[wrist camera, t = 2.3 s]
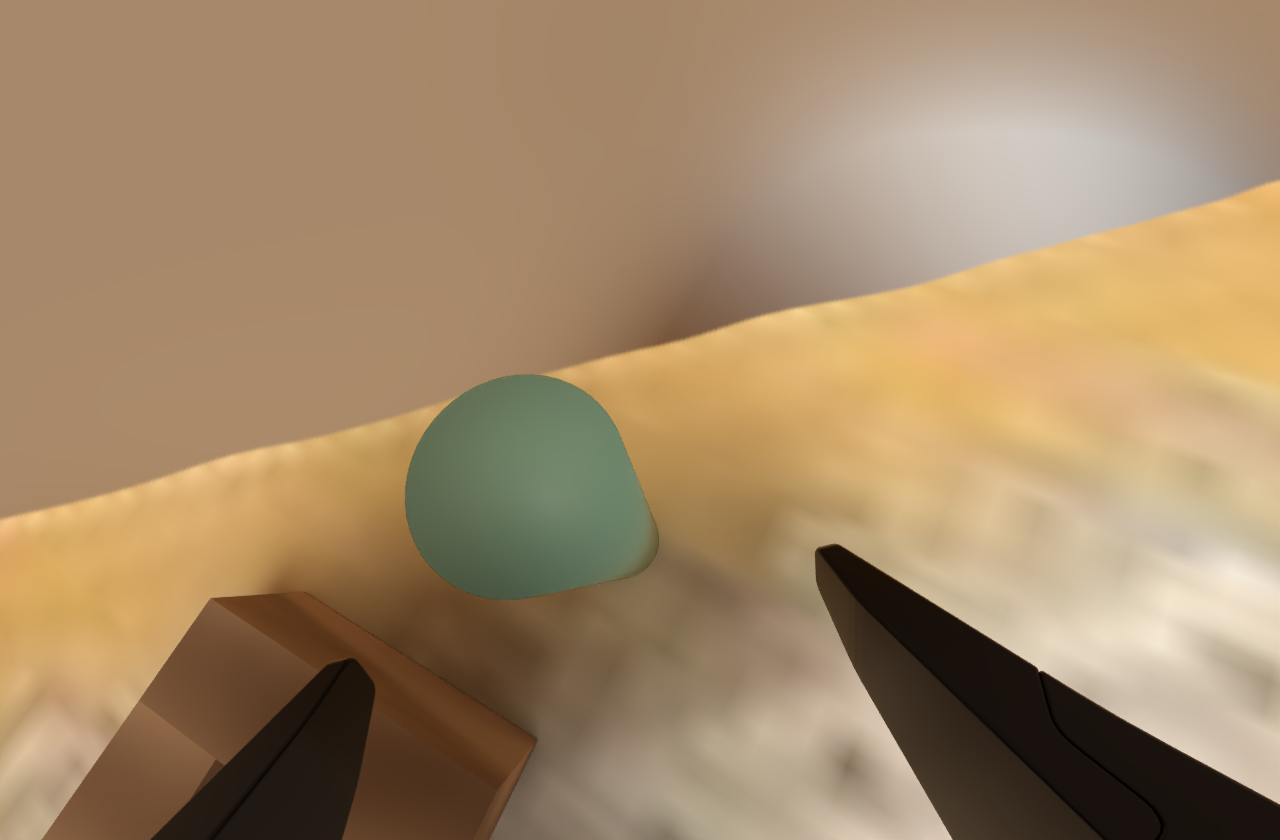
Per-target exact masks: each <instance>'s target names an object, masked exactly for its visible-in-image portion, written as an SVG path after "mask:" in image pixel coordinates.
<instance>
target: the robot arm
mask: <svg viewBox="0 0 1280 840" xmlns="http://www.w3.org/2000/svg"><path fill="white" fill-rule="evenodd" d="M815 568H816V582H817V586H818V588H819V591H820V593H821V596H822V598H823V600H824V602H825V605H826V607H827V609H828V611H829V614H830V616H831V618H832V620H833V622H834V625H835V627H836V629H837V631H838V634H839V636H840V638H841V640H842V643H843V645H844V647H845V649H846V652H847V654H848V656H849V658H850V660H851V662H852V665H853V667H854V669H855V671H856V672H857V674H858V676H859V678H860V680H861V682H862V683H863V685H864V687H865V688H866V690H867V692H868V694H869V695H870V697H871V699H872V701H873V702H874V704H875V706H876V708H877V709H878V711H879V713H880V714H881V716H882V718H883V720H884V721H885V723H886V725H887V727H888V728H889V730H890V732H891V734H892V735H893V737H894V739H895V740H896V742H897V744H898V746H899V747H900V749H901V751H902V753H903V754H904V756H905V758H906V760H907V761H908V763H909V765H910V766H911V768H912V770H913V772H914V773H915V775H916V777H917V779H918V780H919V782H920V784H921V786H922V787H923V789H924V791H925V792H926V794H927V796H928V798H929V799H930V801H931V803H932V805H933V806H934V808H935V810H936V812H937V813H938V815H939V817H940V818H941V820H942V822H943V824H944V825H945V827H946V829H947V831H948V832H949V834H950V836H951V838H952V839H953V840H1280V804H1278V803H1276V802H1274V801H1272V800H1270V799H1269V798H1267V797H1265V796H1263V795H1261V794H1259V793H1257V792H1256V791H1254V790H1252V789H1250V788H1248V787H1246V786H1244V785H1243V784H1241V783H1239V782H1237V781H1235V780H1233V779H1231V778H1230V777H1228V776H1226V775H1224V774H1222V773H1220V772H1218V771H1217V770H1215V769H1213V768H1211V767H1209V766H1207V765H1205V764H1204V763H1202V762H1200V761H1198V760H1196V759H1194V758H1192V757H1191V756H1189V755H1187V754H1185V753H1183V752H1181V751H1179V750H1178V749H1176V748H1174V747H1172V746H1170V745H1168V744H1167V743H1165V742H1163V741H1161V740H1159V739H1158V738H1156V737H1154V736H1152V735H1150V734H1149V733H1147V732H1145V731H1143V730H1141V729H1140V728H1138V727H1136V726H1134V725H1133V724H1131V723H1129V722H1127V721H1125V720H1124V719H1122V718H1120V717H1118V716H1116V715H1115V714H1113V713H1111V712H1110V711H1108V710H1106V709H1105V708H1103V707H1101V706H1100V705H1098V704H1096V703H1095V702H1093V701H1091V700H1090V699H1088V698H1086V697H1085V696H1083V695H1081V694H1080V693H1078V692H1076V691H1075V690H1073V689H1071V688H1070V687H1068V686H1066V685H1065V684H1063V683H1062V682H1060V681H1058V680H1057V679H1055V678H1054V677H1052V676H1050V675H1049V674H1047V673H1046V672H1044V671H1040V672H1039V671H1038V669H1037V667H1035V666H1034V665H1032V664H1031V663H1029V662H1027V661H1026V660H1024V659H1023V658H1021V657H1019V656H1018V655H1016V654H1015V653H1013V652H1011V651H1010V650H1008V649H1007V648H1005V647H1003V646H1002V645H1000V644H999V643H997V642H995V641H994V640H992V639H990V638H989V637H987V636H986V635H984V634H982V633H981V632H979V631H978V630H976V629H974V628H973V627H971V626H970V625H968V624H966V623H965V622H963V621H962V620H960V619H958V618H957V617H955V616H953V615H952V614H950V613H949V612H947V611H945V610H944V609H942V608H941V607H939V606H937V605H936V604H934V603H933V602H931V601H929V600H928V599H926V598H925V597H923V596H921V595H920V594H918V593H916V592H915V591H913V590H912V589H910V588H908V587H907V586H905V585H904V584H902V583H900V582H899V581H897V580H896V579H894V578H892V577H891V576H889V575H888V574H886V573H884V572H883V571H881V570H879V569H878V568H876V567H875V566H873V565H871V564H870V563H868V562H867V561H865V560H863V559H862V558H860V557H859V556H857V555H855V554H854V553H852V552H850V551H849V550H847V549H846V548H844V547H842V546H841V545H838V544H830V545H826V546H822V547H818V548H817V549H816V551H815ZM375 691H376V689H375V684H374V681H373V680H372V678H371V677H370V676H369V674H368V673H367V672H366V671H365V669H364V668H363V667H362V665H361V664H360V663H359V661H358V660H357V659H356V658H353V657H347V658H343V659H339V660H335V661H332V662H330V663H328V664H327V665H326V666H325V667H324V668H323V669H322V670H321V671H320V672H319V673H318V674H316V675H315V676H314V677H313V678H312V679H311V680H310V681H309V682H308V683H307V684H306V685H305V686H304V687H303V688H302V689H301V690H300V691H299V692H298V693H297V694H296V695H295V696H294V697H293V698H292V699H291V700H290V701H289V702H288V703H287V704H286V705H285V706H284V707H283V708H282V709H281V710H280V711H279V712H278V713H277V714H276V715H275V716H274V717H273V718H272V719H271V720H270V721H269V722H268V723H267V724H266V725H265V726H264V727H263V728H262V729H261V730H260V731H259V732H258V733H257V734H256V735H255V736H254V737H253V738H252V739H251V740H250V741H249V742H248V743H247V744H246V745H245V746H244V747H243V748H242V749H241V750H240V751H239V752H238V753H237V754H236V755H235V756H234V757H233V758H232V759H231V760H230V761H229V762H228V763H227V764H226V765H225V766H224V767H223V768H222V769H221V770H220V771H219V772H218V773H217V774H216V775H215V776H214V777H213V778H212V779H211V780H210V781H208V782H207V783H206V784H205V785H204V786H203V787H202V788H201V789H200V790H199V791H198V792H197V793H196V794H195V795H194V796H193V797H192V798H191V799H190V800H189V801H188V802H187V803H186V804H185V805H184V806H183V807H182V808H181V809H180V810H179V811H178V812H177V813H176V814H175V815H174V816H173V817H172V818H171V819H170V820H169V821H168V822H167V823H166V824H165V825H164V826H163V827H162V828H161V829H160V830H159V831H158V832H157V833H156V834H155V835H154V836H153V837H152V838H151V839H150V840H342V839H343V835H344V832H345V828H346V825H347V821H348V818H349V814H350V811H351V807H352V804H353V800H354V796H355V793H356V789H357V785H358V781H359V776H360V772H361V767H362V762H363V757H364V751H365V746H366V741H367V736H368V731H369V726H370V720H371V715H372V710H373V705H374V700H375Z"/></svg>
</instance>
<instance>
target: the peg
mask: <svg viewBox="0 0 1280 840" xmlns="http://www.w3.org/2000/svg"><path fill="white" fill-rule="evenodd" d="M405 506H406V516H407V521H408V525H409V529H410V532H411V535H412V537H413V540H414V542H415V544H416V546H417V548H418V550H419V551H420V553H421V555H422V557H423V558H424V559H425V561H426V562H427V563H428V564H429V566H430V567H431V568H432V569H433V570H434V571H435V572H436V573H437V574H438V575H439V576H440V577H441V578H443V579H444V580H446V581H447V582H448V583H450V584H451V585H453V586H454V587H456V588H458V589H460V590H462V591H465V592H467V593H469V594H472V595H476V596H479V597H482V598H488V599H495V600H517V599H525V598H531V597H536V596H541V595H546V594H551V593H556V592H560V591H565V590H570V589H575V588H580V587H585V586H590V585H595V584H600V583H604V582H609V581H614V580H619V579H624V578H629V577H632V576H635V575H637V574H639V573H640V572H642V571H643V570H645V569H646V568H647V567H648V566H649V565H650V563H651V562H652V560H653V559H654V557H655V555H656V552H657V548H658V542H659V535H658V529H657V526H656V523H655V521H654V518H653V516H652V513H651V511H650V508H649V506H648V503H647V501H646V498H645V496H644V493H643V491H642V489H641V486H640V484H639V481H638V479H637V476H636V474H635V471H634V469H633V466H632V464H631V461H630V459H629V456H628V454H627V451H626V449H625V446H624V444H623V441H622V439H621V436H620V434H619V432H618V429H617V428H616V426H615V424H614V422H613V421H612V419H611V417H610V416H609V415H608V414H607V412H606V411H605V410H604V408H603V407H602V406H601V405H600V404H599V403H598V402H597V401H596V400H595V399H594V398H592V397H591V396H590V395H588V394H587V393H586V392H584V391H583V390H581V389H579V388H578V387H576V386H574V385H572V384H570V383H567V382H565V381H562V380H559V379H556V378H552V377H548V376H541V375H513V376H507V377H502V378H498V379H494V380H491V381H488V382H486V383H483V384H481V385H479V386H476V387H474V388H473V389H471V390H469V391H467V392H465V393H464V394H462V395H461V396H459V397H458V398H457V399H455V400H454V401H453V402H451V403H450V404H449V405H448V406H447V407H446V408H445V409H443V410H442V411H441V413H440V414H439V415H438V416H437V417H436V418H435V419H434V420H433V421H432V423H431V424H430V426H429V427H428V428H427V430H426V431H425V433H424V434H423V436H422V438H421V440H420V441H419V443H418V445H417V447H416V450H415V452H414V455H413V457H412V460H411V463H410V467H409V470H408V474H407V481H406V487H405Z"/></svg>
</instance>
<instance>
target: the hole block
mask: <svg viewBox="0 0 1280 840" xmlns="http://www.w3.org/2000/svg"><path fill="white" fill-rule="evenodd" d="M347 657H353V658H356V659H357V660H358V661H359V663H360V664H361V665H362V667H363V668H364V669H365V671H366V672H367V673H368V674H369V676H370V677H371V678H372V680H373V681H374V684H375V689H376V691H375V700H374V705H373V710H372V715H371V720H370V726H369V731H368V736H367V741H366V746H365V751H364V757H363V762H362V767H361V772H360V776H359V781H358V785H357V789H356V793H355V796H354V800H353V804H352V807H351V811H350V814H349V818H348V821H347V825H346V828H345V832H344V835H343V839H342V840H489V839H490V837H491V835H492V833H493V831H494V829H495V827H496V825H497V823H498V820H499V818H500V816H501V814H502V812H503V810H504V808H505V806H506V804H507V802H508V800H509V798H510V796H511V794H512V792H513V789H514V787H515V785H516V783H517V781H518V779H519V777H520V775H521V773H522V771H523V769H524V767H525V765H526V763H527V761H528V758H529V756H530V754H531V752H532V750H533V748H534V746H535V744H536V742H537V739H536V738H534V737H533V736H531V735H529V734H528V733H526V732H525V731H523V730H522V729H520V728H518V727H517V726H515V725H514V724H512V723H511V722H509V721H507V720H506V719H504V718H503V717H501V716H499V715H498V714H496V713H495V712H493V711H492V710H490V709H488V708H487V707H485V706H484V705H482V704H480V703H479V702H477V701H476V700H474V699H473V698H471V697H469V696H468V695H466V694H465V693H463V692H462V691H460V690H458V689H457V688H455V687H454V686H452V685H450V684H449V683H447V682H446V681H444V680H443V679H441V678H439V677H438V676H436V675H435V674H433V673H432V672H430V671H428V670H427V669H425V668H424V667H422V666H420V665H419V664H417V663H416V662H414V661H413V660H411V659H409V658H408V657H406V656H405V655H403V654H401V653H400V652H398V651H397V650H395V649H394V648H392V647H390V646H389V645H387V644H386V643H384V642H383V641H381V640H379V639H378V638H376V637H375V636H373V635H371V634H370V633H368V632H367V631H365V630H364V629H362V628H360V627H359V626H357V625H356V624H354V623H353V622H351V621H349V620H348V619H346V618H345V617H343V616H341V615H340V614H338V613H337V612H335V611H334V610H332V609H330V608H329V607H327V606H326V605H324V604H322V603H321V602H319V601H318V600H316V599H315V598H313V597H311V596H310V595H308V594H307V593H305V592H299V593H283V594H268V595H252V596H236V597H221V598H210V600H209V601H208V603H207V604H206V605H205V607H204V608H203V610H202V611H201V613H200V614H199V615H198V617H197V618H196V620H195V621H194V623H193V624H192V625H191V627H190V628H189V630H188V631H187V633H186V634H185V635H184V637H183V638H182V640H181V641H180V643H179V644H178V646H177V647H176V648H175V650H174V651H173V653H172V654H171V656H170V657H169V658H168V660H167V661H166V663H165V664H164V666H163V667H162V668H161V670H160V671H159V673H158V674H157V676H156V677H155V678H154V680H153V681H152V683H151V684H150V686H149V687H148V688H147V690H146V691H145V693H144V694H143V696H142V697H141V698H140V700H139V701H138V703H137V704H136V706H135V707H134V708H133V710H132V711H131V713H130V714H129V716H128V717H127V718H126V720H125V721H124V723H123V724H122V726H121V727H120V729H119V730H118V731H117V733H116V734H115V736H114V737H113V739H112V740H111V741H110V743H109V744H108V746H107V747H106V749H105V750H104V751H103V753H102V754H101V756H100V757H99V759H98V760H97V761H96V763H95V764H94V766H93V767H92V769H91V770H90V771H89V773H88V774H87V776H86V777H85V779H84V780H83V781H82V783H81V784H80V786H79V787H78V789H77V790H76V791H75V793H74V794H73V796H72V797H71V799H70V800H69V801H68V803H67V804H66V806H65V807H64V809H63V810H62V812H61V813H60V814H59V816H58V817H57V819H56V820H55V822H54V823H53V824H52V826H51V827H50V829H49V830H48V832H47V833H46V834H45V836H44V837H43V839H42V840H150V839H151V838H152V837H153V836H154V835H155V834H156V833H157V832H158V831H159V830H160V829H161V828H162V827H163V826H164V825H165V824H166V823H167V822H168V821H169V820H170V819H171V818H172V817H173V816H174V815H175V814H176V813H177V812H178V811H179V810H180V809H181V808H182V807H183V806H184V805H185V804H186V803H187V802H188V801H189V800H190V799H191V798H192V797H193V796H194V795H195V794H196V793H197V792H198V791H199V790H200V789H201V788H202V787H203V786H204V785H205V784H206V783H207V782H208V781H210V780H211V779H212V778H213V777H214V776H215V775H216V774H217V773H218V772H219V771H220V770H221V769H222V768H223V767H224V766H225V765H226V764H227V763H228V762H229V761H230V760H231V759H232V758H233V757H234V756H235V755H236V754H237V753H238V752H239V751H240V750H241V749H242V748H243V747H244V746H245V745H246V744H247V743H248V742H249V741H250V740H251V739H252V738H253V737H254V736H255V735H256V734H257V733H258V732H259V731H260V730H261V729H262V728H263V727H264V726H265V725H266V724H267V723H268V722H269V721H270V720H271V719H272V718H273V717H274V716H275V715H276V714H277V713H278V712H279V711H280V710H281V709H282V708H283V707H284V706H285V705H286V704H287V703H288V702H289V701H290V700H291V699H292V698H293V697H294V696H295V695H296V694H297V693H298V692H299V691H300V690H301V689H302V688H303V687H304V686H305V685H306V684H307V683H308V682H309V681H310V680H311V679H312V678H313V677H314V676H315V675H316V674H318V673H319V672H320V671H321V670H322V669H323V668H324V667H325V666H326V665H327V664H328V663H330V662H332V661H335V660H339V659H343V658H347Z"/></svg>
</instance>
